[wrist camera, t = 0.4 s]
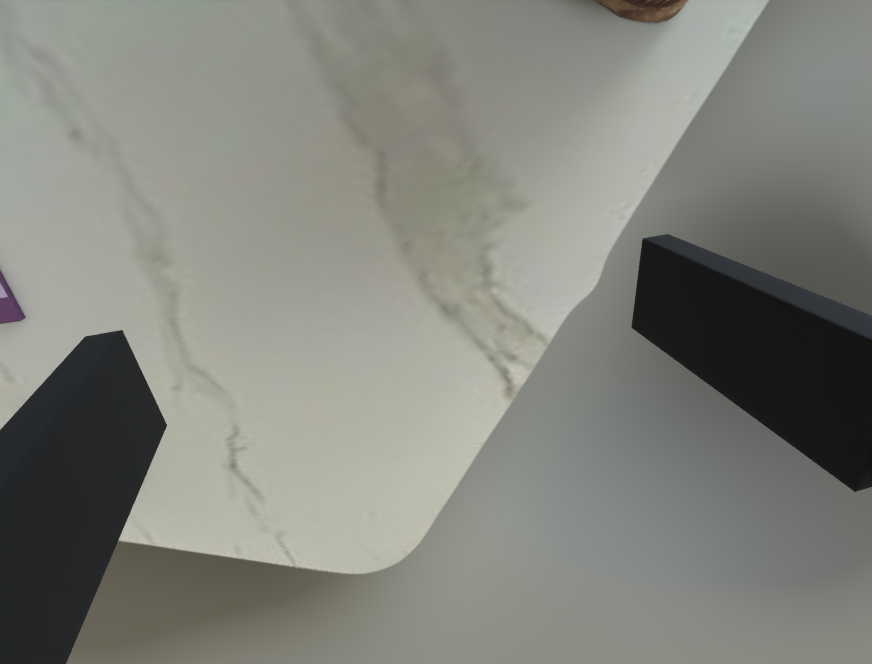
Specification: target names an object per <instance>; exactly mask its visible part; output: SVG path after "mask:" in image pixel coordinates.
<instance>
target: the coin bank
mask: <svg viewBox="0 0 872 664" xmlns="http://www.w3.org/2000/svg"><path fill="white" fill-rule="evenodd" d="M597 1H599V2H600V3H601V4H602V5H604V6H606V7H609V8H610V9H611V10H613V11H614V12H615V13H616V14H617V15H618V16H620V17H624V18H628V19H632V20H639V21H644V22H649V21H655V22H657V23H658V22H663V21H667V20H669V19H670V18H672V17H673V16H675V15H676V14H677V13H678V12H679V11H680V10H681V8H682V7H683V6H684V5H685V4H686V2H687V1H688V0H597Z"/></svg>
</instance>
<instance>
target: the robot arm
mask: <svg viewBox="0 0 872 664" xmlns="http://www.w3.org/2000/svg"><path fill="white" fill-rule="evenodd" d="M632 328H633V329H634V330H636V331H637V332H638V333H640V334H641V335H642V336H644V337H645V338H646V339H648V340H649V341H650V342H652V343H653V344H655V345H656V346H658V347H659V348H660V349H661V350H663V351H664V352H666V353H667V354H668V355H670V356H671V357H672V358H674V359H675V360H676V361H678V362H679V363H681V364H682V365H683V366H684V367H686V368H687V369H689V370H690V371H691V372H693V373H694V374H695V375H697V376H698V377H700V378H701V379H702V380H704V381H705V382H706V383H708V384H709V385H710V386H712V387H713V388H714V389H716V390H717V391H719V392H720V393H721V394H723V395H724V396H725V397H727V398H728V399H729V400H731V401H732V402H734V403H735V404H736V405H738V406H739V407H740V408H742V409H743V410H745V411H746V412H747V413H749V414H750V415H751V416H753V417H754V418H755V419H757V420H758V421H759V422H761V423H762V424H763V425H765V426H766V427H768V428H769V429H770V430H772V431H773V432H774V433H776V434H777V435H778V436H780V437H781V438H783V439H784V440H785V441H787V442H788V443H789V444H791V445H792V446H793V447H795V448H796V449H798V450H799V451H800V452H802V453H803V454H804V455H806V456H807V457H808V458H810V459H811V460H813V461H814V462H815V463H817V464H818V465H819V466H821V467H822V468H823V469H825V470H826V471H828V472H829V473H830V474H832V475H833V476H834V477H836V478H837V479H839V480H840V481H841V482H842V483H844V484H845V485H847V486H848V487H849V488H851V489H852V490H853V491H855V492H856V491H859V490H863V489H866V488H869V487H872V316H870V315H868V314H865V313H863V312H860V311H858V310H855V309H853V308H851V307H848V306H846V305H843V304H841V303H838V302H836V301H833V300H831V299H828V298H825V297H823V296H821V295H818V294H816V293H813V292H810V291H808V290H806V289H803V288H801V287H798V286H796V285H793V284H791V283H788V282H786V281H783V280H781V279H778V278H775V277H773V276H771V275H768V274H766V273H763V272H761V271H758V270H756V269H753V268H751V267H748V266H746V265H743V264H740V263H738V262H736V261H733V260H731V259H728V258H726V257H723V256H720V255H718V254H716V253H713V252H711V251H708V250H705V249H703V248H701V247H698V246H696V245H693V244H691V243H688V242H686V241H683V240H681V239H678V238H676V237H673V236H671V235H668V234H666V235H661V236H655V237H649V238H643V240H642V248H641V256H640V265H639V273H638V280H637V288H636V296H635V304H634V312H633V320H632ZM166 426H167V424H166V422H165V420H164V418H163V416H162V414H161V411H160V409H159V407H158V405H157V403H156V401H155V399H154V397H153V394H152V392H151V390H150V388H149V386H148V384H147V382H146V380H145V377H144V375H143V373H142V371H141V369H140V367H139V365H138V363H137V360H136V358H135V356H134V354H133V352H132V350H131V348H130V346H129V343H128V341H127V339H126V337H125V335H124V333H123V331H122V330H120V331H115V332H109V333H103V334H98V335H92V336H86V337H84V339H83V340H82V341H81V342H80V343H79V344H78V345H77V346H76V347H75V348H74V350H73V351H72V352H71V353H70V354H69V355H68V356H67V357H66V358H65V359H64V361H63V362H62V363H61V364H60V365H59V366H58V367H57V368H56V369H55V370H54V372H53V373H52V374H51V375H50V376H49V377H48V378H47V379H46V380H45V381H44V383H43V384H42V385H41V386H40V387H39V388H38V389H37V390H36V391H35V392H34V394H33V395H32V396H31V397H30V398H29V399H28V400H27V401H26V402H25V403H24V404H23V406H22V407H21V408H20V409H19V410H18V411H17V412H16V413H15V414H14V415H13V417H12V418H11V419H10V420H9V421H8V422H7V423H6V424H5V425H4V426H3V428H2V429H1V430H0V664H66V662H67V660H68V658H69V655H70V653H71V650H72V648H73V646H74V643H75V641H76V639H77V636H78V634H79V632H80V629H81V627H82V624H83V622H84V620H85V617H86V615H87V613H88V610H89V608H90V606H91V603H92V601H93V599H94V596H95V594H96V592H97V589H98V587H99V584H100V582H101V580H102V577H103V575H104V572H105V570H106V567H107V566H108V563H109V561H110V558H111V556H112V554H113V551H114V549H115V547H116V544H117V542H118V540H119V537H120V535H121V533H122V530H123V528H124V525H125V523H126V521H127V518H128V516H129V514H130V511H131V509H132V507H133V504H134V502H135V500H136V497H137V495H138V492H139V490H140V488H141V485H142V483H143V481H144V478H145V476H146V474H147V471H148V469H149V467H150V464H151V462H152V459H153V457H154V455H155V452H156V450H157V448H158V445H159V443H160V441H161V438H162V436H163V434H164V431H165V429H166Z"/></svg>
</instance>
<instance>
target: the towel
mask: <svg viewBox="0 0 872 664" xmlns="http://www.w3.org/2000/svg"><path fill="white" fill-rule="evenodd" d="M24 318H25V317H24V315H23V313H22V311H21V309H20V307H19V305H18V304H17V302H16V300H15V298H14V296H13V294H12V292H11V291H10V289H9V287H8V285H7V283H6V281H5V279H4V278H3V276H2V274H1V272H0V324H2V323H9V322H16V321H21V320H23V319H24Z"/></svg>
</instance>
